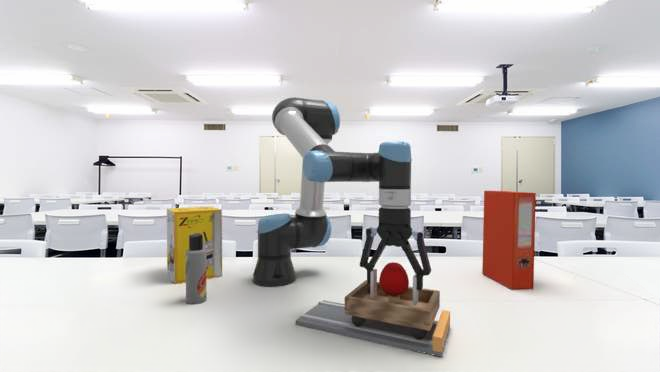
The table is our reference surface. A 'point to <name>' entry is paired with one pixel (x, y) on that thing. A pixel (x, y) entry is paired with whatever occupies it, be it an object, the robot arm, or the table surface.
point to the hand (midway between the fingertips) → (394, 299)
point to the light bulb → (394, 281)
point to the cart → (394, 308)
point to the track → (376, 328)
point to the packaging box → (178, 232)
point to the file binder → (509, 238)
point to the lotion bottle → (196, 270)
